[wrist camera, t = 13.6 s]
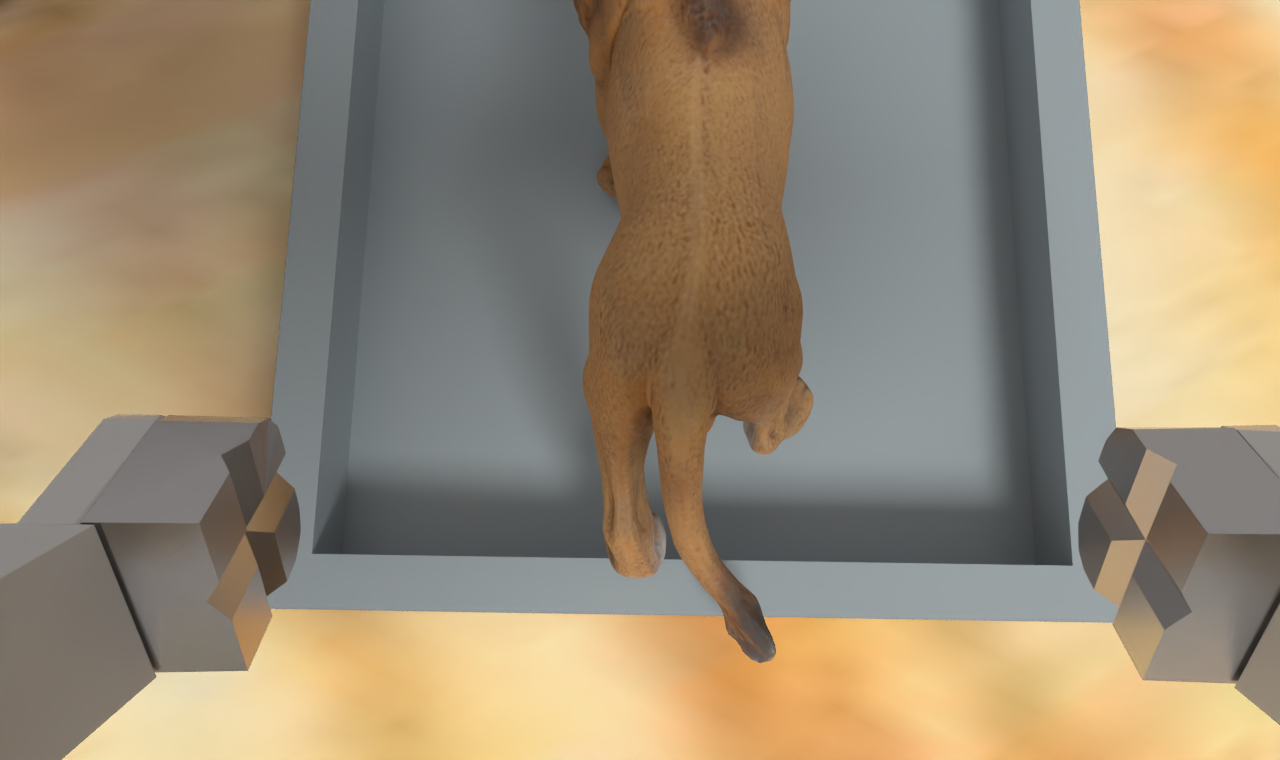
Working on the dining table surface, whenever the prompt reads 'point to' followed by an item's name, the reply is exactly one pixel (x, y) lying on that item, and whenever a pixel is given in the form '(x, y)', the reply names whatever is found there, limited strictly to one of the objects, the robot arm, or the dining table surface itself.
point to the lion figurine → (691, 270)
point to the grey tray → (733, 474)
